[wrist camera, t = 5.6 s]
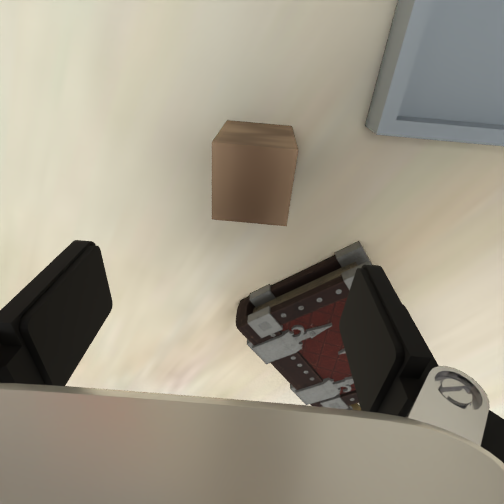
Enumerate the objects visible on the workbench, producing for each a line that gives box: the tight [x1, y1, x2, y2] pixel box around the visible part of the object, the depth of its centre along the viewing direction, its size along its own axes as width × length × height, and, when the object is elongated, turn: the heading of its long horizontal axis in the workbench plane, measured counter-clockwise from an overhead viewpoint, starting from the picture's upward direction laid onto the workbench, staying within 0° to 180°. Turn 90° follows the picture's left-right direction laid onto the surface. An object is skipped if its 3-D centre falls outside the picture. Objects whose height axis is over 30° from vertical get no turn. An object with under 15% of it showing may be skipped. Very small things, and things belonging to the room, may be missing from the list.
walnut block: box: [212, 120, 298, 226], centre depth 22 cm, size 5×5×7 cm
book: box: [236, 241, 372, 411], centre depth 34 cm, size 15×25×5 cm, turn 34°
